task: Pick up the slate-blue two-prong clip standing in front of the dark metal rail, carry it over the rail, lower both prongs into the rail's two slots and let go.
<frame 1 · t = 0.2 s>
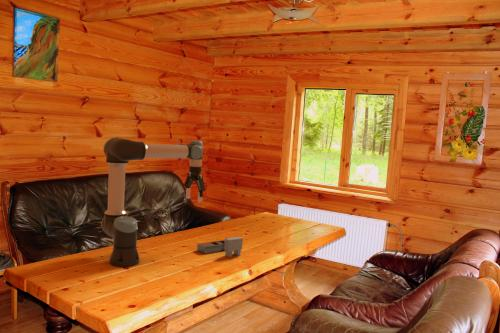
hand: (193, 200, 266), 28 cm above the table, fingers open, 13 cm apart
rail: (218, 249, 262), on the table
clip: (232, 255, 251), on the table
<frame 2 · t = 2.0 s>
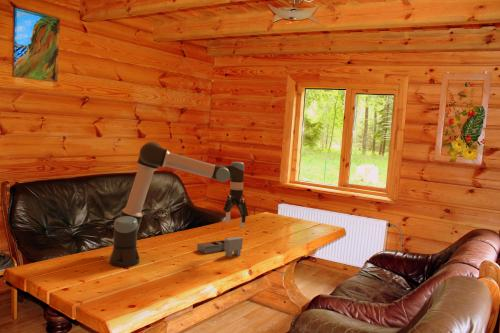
hand: (234, 225, 249), 18 cm above the table, fingers open, 13 cm apart
nothing on the table moved.
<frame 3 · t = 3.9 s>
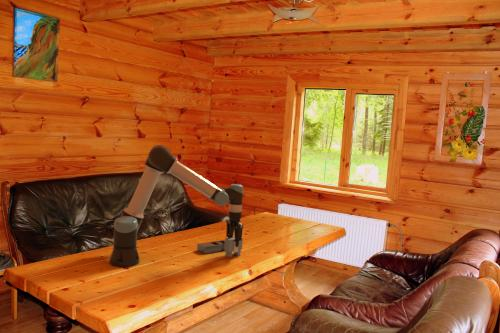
hand: (233, 250, 251), 3 cm above the table, fingers closed on clip, 4 cm apart
clip: (232, 255, 251), on the table, touching gripper
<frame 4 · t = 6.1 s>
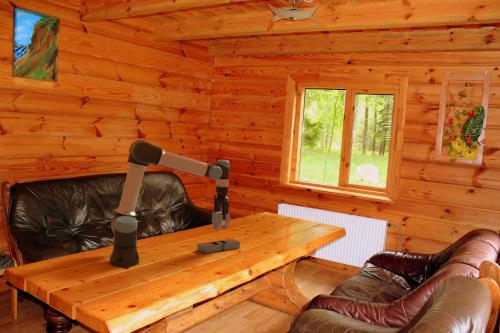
hand: (220, 224, 260), 15 cm above the table, fingers closed on clip, 4 cm apart
clip: (220, 228, 260), point 13 cm above the table, touching gripper
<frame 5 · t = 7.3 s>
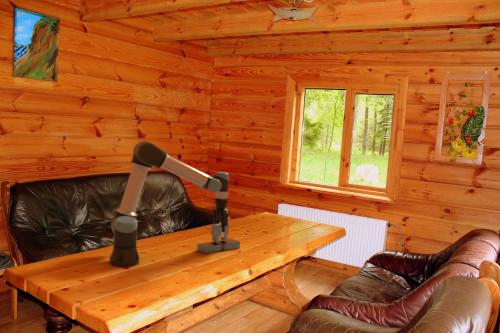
hand: (219, 236, 261), 8 cm above the table, fingers closed on clip, 4 cm apart
clip: (219, 240, 261), point 5 cm above the table, touching gripper
when the fingers open (5 cm above the table, at t = 8.1 s): clip drops 2 cm, resting on rail.
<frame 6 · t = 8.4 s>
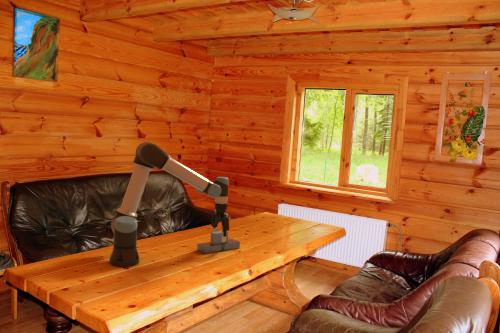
hand: (219, 239, 261), 6 cm above the table, fingers open, 8 cm apart
clip: (218, 248, 261), resting on rail
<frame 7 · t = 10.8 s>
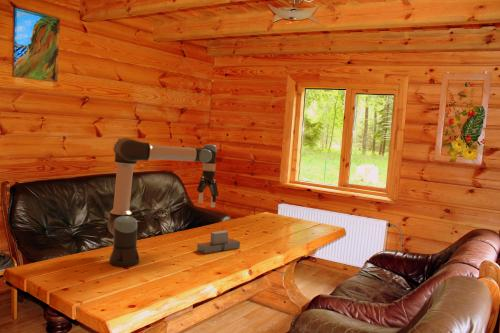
hand: (206, 205, 261), 26 cm above the table, fingers open, 13 cm apart
nothing on the table moved.
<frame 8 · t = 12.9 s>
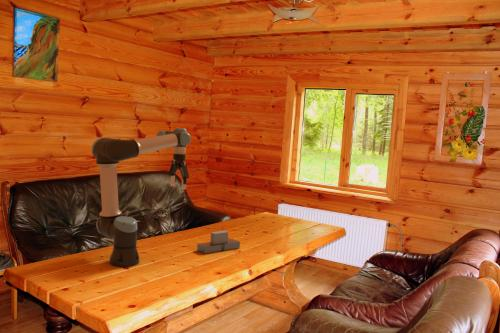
hand: (177, 187, 267), 35 cm above the table, fingers open, 13 cm apart
nothing on the table moved.
at the end: clip 0.0 cm off-centre on the rail, point 0.5 cm above the rail's base; clip tilted 0°; the gripper is holding nothing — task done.
